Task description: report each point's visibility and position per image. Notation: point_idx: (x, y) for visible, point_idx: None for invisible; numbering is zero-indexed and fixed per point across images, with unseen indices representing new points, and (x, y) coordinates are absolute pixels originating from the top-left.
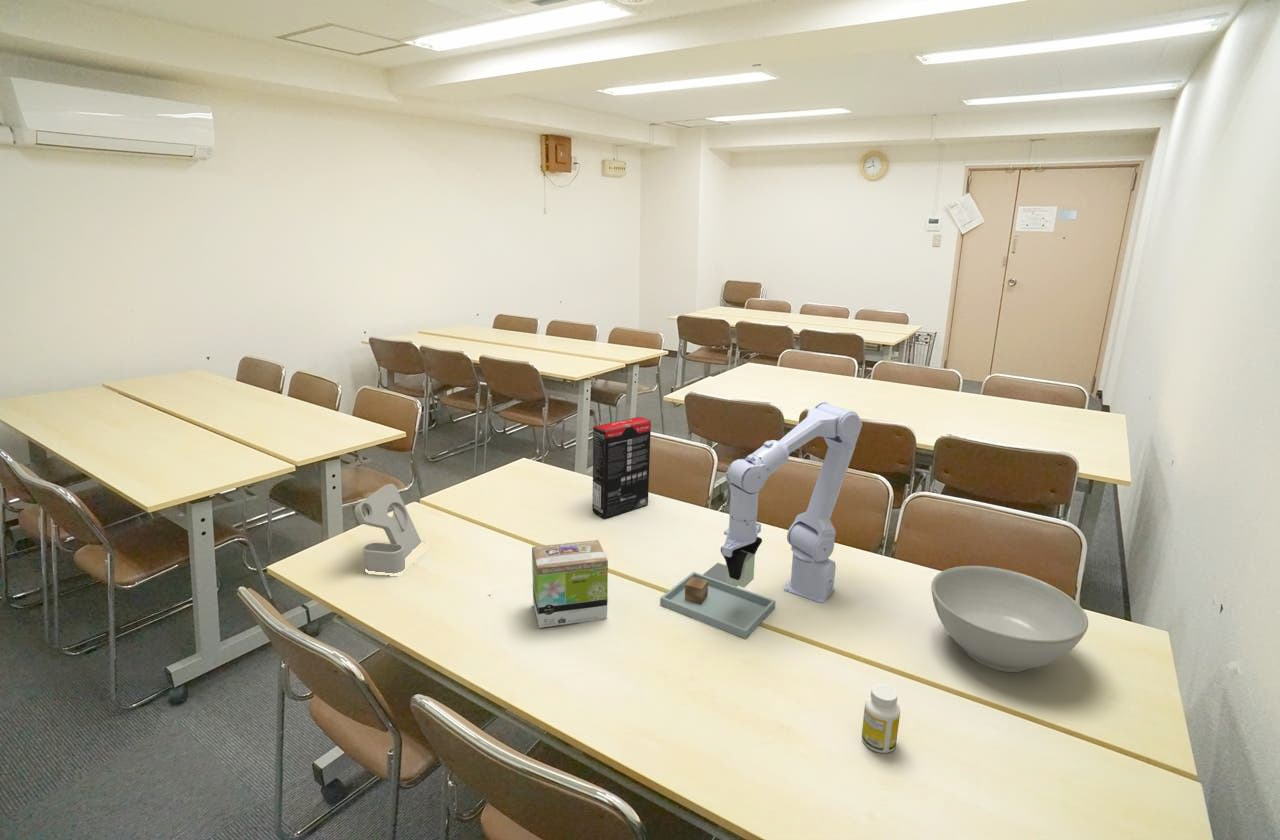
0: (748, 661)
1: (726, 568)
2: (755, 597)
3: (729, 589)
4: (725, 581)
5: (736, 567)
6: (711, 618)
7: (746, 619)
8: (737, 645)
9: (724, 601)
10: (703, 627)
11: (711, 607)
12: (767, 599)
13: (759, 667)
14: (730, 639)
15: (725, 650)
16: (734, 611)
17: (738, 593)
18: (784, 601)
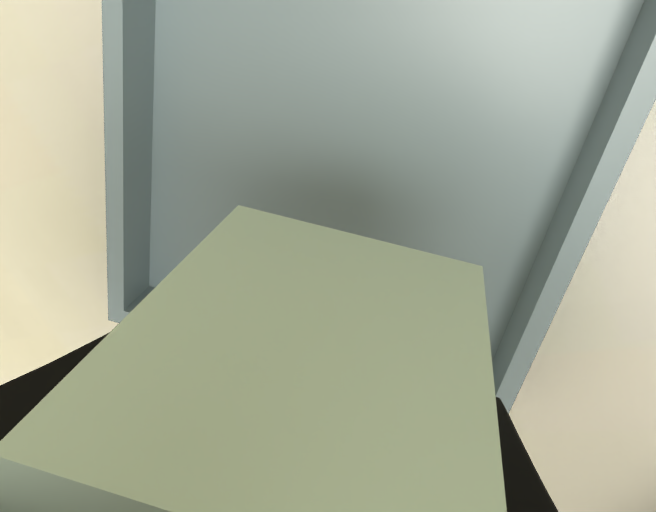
0: (12, 326)
1: (148, 299)
2: (526, 309)
3: (617, 89)
4: (238, 206)
5: None
6: (105, 94)
7: None
8: (76, 264)
9: (457, 83)
10: (100, 39)
11: (334, 10)
12: (498, 391)
13: (10, 367)
14: (97, 223)
15: (7, 220)
16: (354, 186)
17: (580, 172)
18: (600, 433)
